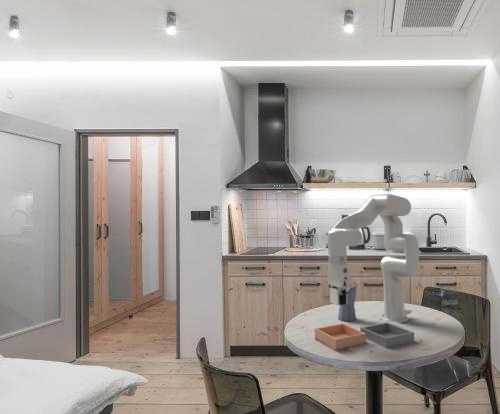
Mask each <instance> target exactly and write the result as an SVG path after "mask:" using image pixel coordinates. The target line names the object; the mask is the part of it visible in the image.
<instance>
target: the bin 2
mask: <svg viewBox="0 0 500 414" xmlns="http://www.w3.org/2000/svg"><path fill="white" fill-rule="evenodd" d="M359 331H361V332H363V333H366V340H368V341H370V342H372V343H375V344H377V345H379V346H381V347H383V348H385V349H388V348H392V347H396V346H397V347H398V346H401V345H405V344H411V343H414V342H415V332H414V331H411V330H409V329H406V328H404V327H401V326H398V325H395V324H392V323H391V322H389V321H388V322H387V321H386V322H383V323H381V322H380V323H376V324H372V325H367V326H362V327H360V330H359Z"/></svg>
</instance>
